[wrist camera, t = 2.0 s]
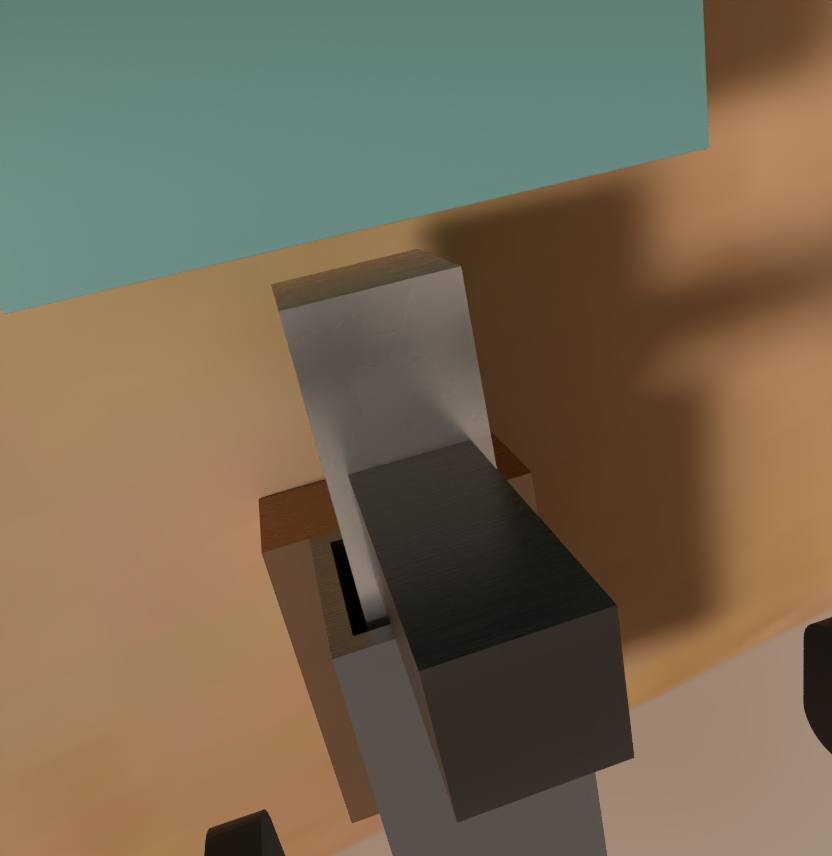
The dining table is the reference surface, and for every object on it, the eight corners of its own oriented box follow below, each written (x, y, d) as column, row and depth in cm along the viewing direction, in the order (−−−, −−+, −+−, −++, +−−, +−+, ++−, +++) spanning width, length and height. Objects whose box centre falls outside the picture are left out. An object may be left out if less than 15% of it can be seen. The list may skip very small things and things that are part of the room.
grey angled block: (507, 703, 25) (692, 1065, 15) (399, 741, 24) (513, 1144, 14) (417, 248, 19) (623, 331, 9) (271, 284, 18) (309, 415, 8)
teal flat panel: (61, 67, 20) (-163, -71, 9) (462, -9, 22) (695, -205, 11) (123, 245, 22) (3, 314, 11) (488, 161, 23) (709, 147, 12)
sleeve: (534, 676, 31) (657, 884, 22) (338, 744, 30) (381, 994, 21) (491, 432, 27) (623, 564, 18) (258, 499, 25) (269, 680, 16)
